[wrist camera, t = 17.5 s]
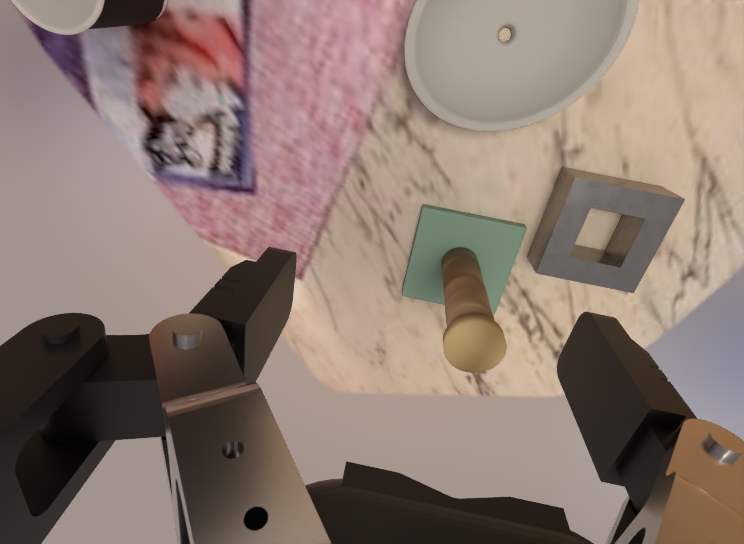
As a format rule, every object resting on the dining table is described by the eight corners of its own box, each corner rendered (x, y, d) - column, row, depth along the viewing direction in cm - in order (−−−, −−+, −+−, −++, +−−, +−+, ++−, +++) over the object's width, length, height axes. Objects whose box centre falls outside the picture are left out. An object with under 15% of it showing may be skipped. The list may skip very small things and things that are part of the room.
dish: (434, 149, 42) (435, 160, 37) (381, -9, 36) (376, -18, 32) (624, 77, 37) (651, 79, 33) (597, -118, 32) (626, -146, 27)
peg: (433, 278, 47) (437, 365, 34) (443, 239, 45) (452, 317, 31) (474, 286, 47) (495, 377, 34) (487, 248, 45) (515, 330, 31)
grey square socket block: (527, 256, 46) (536, 273, 42) (562, 166, 41) (575, 177, 38) (617, 274, 46) (633, 293, 42) (662, 186, 41) (685, 199, 37)
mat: (402, 291, 50) (401, 295, 49) (423, 204, 44) (423, 207, 43) (493, 310, 49) (494, 314, 48) (524, 224, 44) (526, 228, 43)
